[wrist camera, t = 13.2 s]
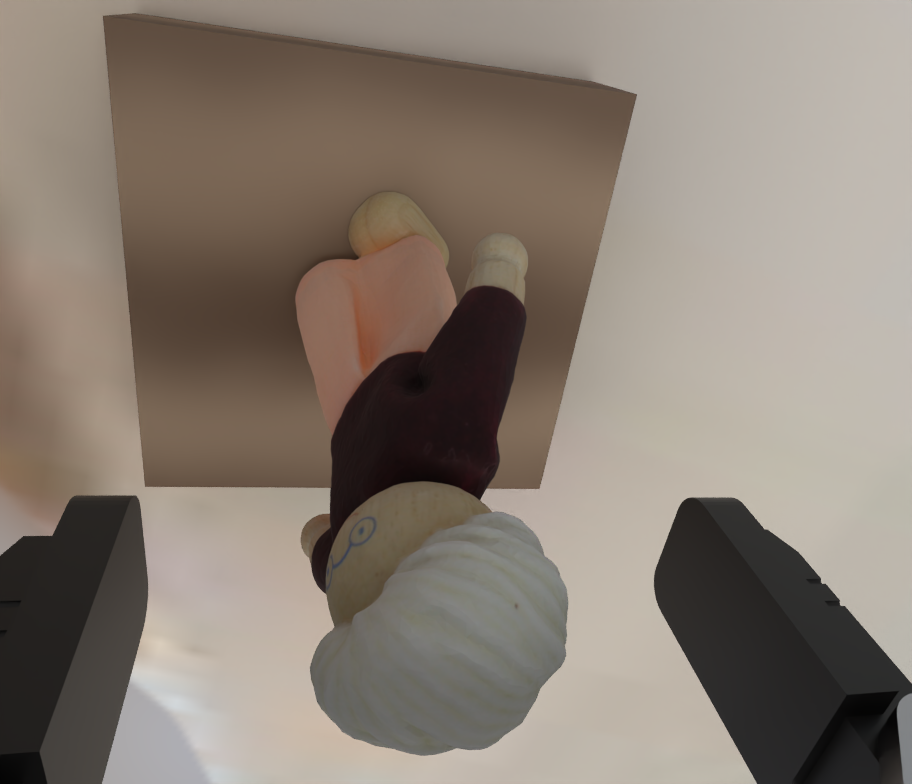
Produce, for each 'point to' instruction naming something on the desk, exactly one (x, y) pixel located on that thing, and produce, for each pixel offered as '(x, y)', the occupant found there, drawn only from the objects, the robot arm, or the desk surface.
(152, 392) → the walnut plinth
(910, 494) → the desk surface
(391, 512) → the grandmother figurine
